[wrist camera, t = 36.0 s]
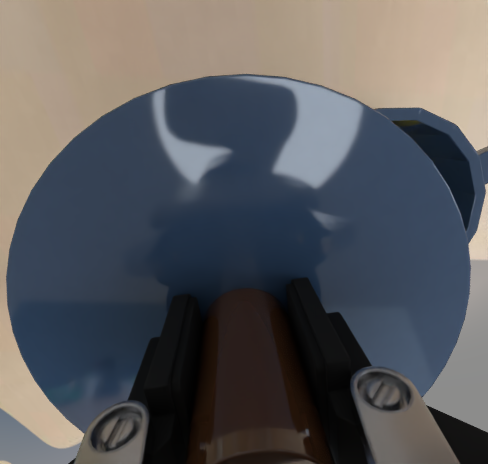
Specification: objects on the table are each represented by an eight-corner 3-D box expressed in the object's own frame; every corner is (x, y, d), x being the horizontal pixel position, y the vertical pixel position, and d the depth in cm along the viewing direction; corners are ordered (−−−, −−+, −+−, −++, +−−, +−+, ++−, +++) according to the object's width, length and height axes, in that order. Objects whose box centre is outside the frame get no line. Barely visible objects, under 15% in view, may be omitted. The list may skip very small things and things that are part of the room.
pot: (222, 163, 31) (220, 179, 21) (412, 77, 30) (506, 50, 20) (275, 281, 36) (293, 339, 26) (443, 212, 34) (532, 246, 24)
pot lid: (-72, 200, 10) (-585, 325, 4) (395, -14, 9) (828, -379, 2) (156, 493, 15) (103, 761, 9) (476, 384, 14) (689, 604, 7)
